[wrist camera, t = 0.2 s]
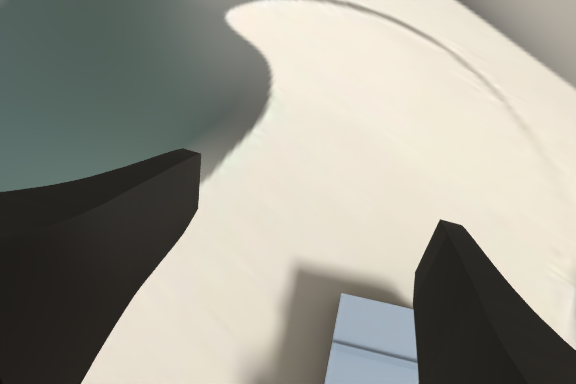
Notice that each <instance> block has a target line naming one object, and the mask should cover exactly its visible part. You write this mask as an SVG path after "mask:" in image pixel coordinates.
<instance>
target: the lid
mask: <svg viewBox="0 0 576 384" xmlns="http://www.w3.org/2000/svg"><path fill="white" fill-rule="evenodd" d="M324 384H419V380H418V363H417V350H416V337H415V324H414V309H410V308H405V307H401V306H397V305H392V304H388V303H383V302H379V301H375V300H370V299H366V298H361V297H357V296H353V295H348V294H344V293H341V296H340V302H339V307H338V312H337V318H336V323H335V328H334V334H333V339H332V344H331V350H330V355H329V360H328V366H327V371H326V377H325V382H324Z"/></svg>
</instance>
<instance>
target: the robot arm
mask: <svg viewBox="0 0 576 384" xmlns="http://www.w3.org/2000/svg"><path fill="white" fill-rule="evenodd" d="M200 165H201V154H200V153H197V152H193V151H190V150H186V149H179V150H175V151H171V152H168V153H165V154H162V155H159V156H156V157H153V158H150V159H147V160H144V161H141V162H138V163H135V164H132V165H129V166H126V167H123V168H119V169H115V170H112V171H109V172H105V173H102V174H98V175H95V176H91V177H87V178H83V179H79V180H75V181H70V182H65V183H60V184H55V185H49V186H43V187H36V188H29V189H22V190H14V191H7V192H0V384H81V382H82V381H83V379H84V377H85V375H86V374H87V372H88V370H89V368H90V367H91V365H92V363H93V361H94V360H95V358H96V356H97V354H98V353H99V351H100V349H101V348H102V346H103V344H104V343H105V341H106V339H107V338H108V336H109V335H110V333H111V331H112V330H113V328H114V326H115V325H116V323H117V321H118V320H119V318H120V317H121V315H122V314H123V312H124V311H125V309H126V307H127V306H128V304H129V303H130V301H131V300H132V298H133V297H134V295H135V294H136V293H137V291H138V290H139V288H140V287H141V286H142V284H143V283H144V282H145V281H146V280H147V278H148V277H149V276H150V275H151V273H152V272H153V271H154V270H155V268H156V267H157V266H158V265H159V263H160V262H161V261H162V260H163V259H164V257H165V256H166V255H167V254H168V252H169V251H170V250H171V249H172V247H173V246H174V245H175V244H176V242H177V241H178V240H179V239H180V237H181V236H182V235H183V233H184V232H185V230H186V228H187V227H188V225H189V223H190V222H191V220H192V218H193V217H194V215H195V213H196V211H197V209H198V200H199V183H200ZM413 309H414V324H415V337H416V350H417V363H418V380H419V384H576V350H574V349H573V348H572V347H571V346H570V345H569V344H568V343H567V342H565V341H564V340H563V339H562V338H561V337H560V336H559V335H558V334H557V333H556V332H555V331H554V330H553V329H552V328H551V327H550V326H549V325H548V324H546V323H545V322H544V321H543V320H542V319H541V318H540V317H539V316H538V315H537V314H536V313H535V312H534V311H533V310H532V309H531V307H530V306H529V305H528V304H527V303H526V302H525V301H524V300H523V299H522V298H521V296H520V295H519V294H518V293H517V292H516V291H515V290H514V289H513V288H512V286H511V285H510V284H509V283H508V282H507V281H506V279H505V278H504V277H503V276H502V275H501V273H500V272H499V271H498V270H497V268H496V267H495V266H494V265H493V263H492V262H491V261H490V260H489V258H488V257H487V256H486V255H485V253H484V252H483V251H482V249H481V248H480V247H479V245H478V244H477V243H476V242H475V240H474V239H473V238H472V237H471V235H470V234H469V233H468V232H467V230H466V229H465V228H464V227H463V226H462V225H459V224H455V223H451V222H448V221H444V220H441V219H440V221H439V223H438V225H437V227H436V229H435V231H434V233H433V236H432V238H431V240H430V242H429V244H428V246H427V248H426V250H425V252H424V255H423V257H422V259H421V261H420V263H419V265H418V267H417V269H416V272H415V281H414V295H413Z"/></svg>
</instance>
